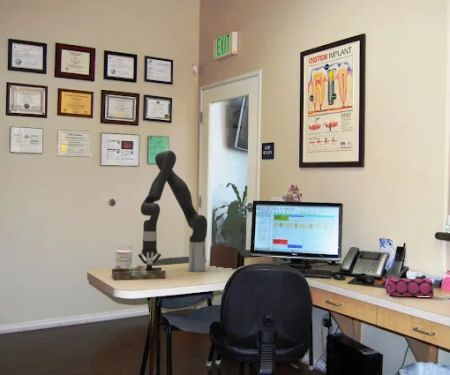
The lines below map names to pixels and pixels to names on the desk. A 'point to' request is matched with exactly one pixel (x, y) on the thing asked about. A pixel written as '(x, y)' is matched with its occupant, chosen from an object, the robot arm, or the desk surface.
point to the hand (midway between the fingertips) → (149, 271)
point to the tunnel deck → (137, 274)
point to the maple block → (139, 268)
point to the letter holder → (225, 257)
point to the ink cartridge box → (123, 257)
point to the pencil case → (409, 287)
